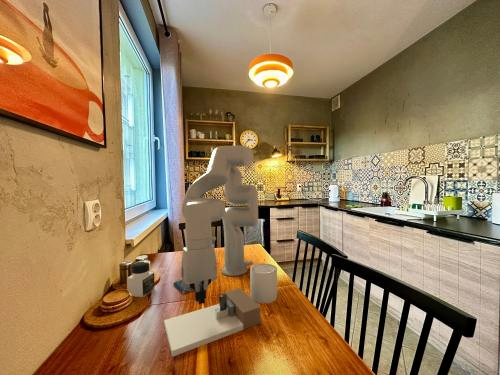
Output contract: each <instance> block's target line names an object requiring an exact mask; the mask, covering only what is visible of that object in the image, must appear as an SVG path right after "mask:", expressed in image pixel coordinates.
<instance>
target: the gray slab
mask: <svg viewBox="0 0 500 375" xmlns="http://www.w3.org/2000/svg"><path fill="white" fill-rule="evenodd" d="M224 294H226V295H227V306H228V307H229V315H227V316H224V317H221V318H218V319H216V317H215V316H214V309H217V308H219V303H217V304H214V305H211V306H208V307H207V306H206V307H204V308H201V309H197V310H193V311H191V312H187V313H184V314H181V315H178V316H174V317H170V318H167V319H164V320H163V326H164V330H165V334H166V337H167V338H166V339H167V343H168V346H169V349H170V355H171V357H172V358H174V357H176V356H178V355H181V354H184V353H186V352H189V351H191V350H194V349H196V348H199V347H202V346H204V345H207V344H209V343H212V342H215V341H217V340H221V339H222V338H225V337H228V336H231V335H233V334H235V333H236V334H237V333H238V332H241V331H243V330H246V329H248V328H252V327H254V326H257V325H259V324H261V306H260V305H259V303H257V302H255V301H253V300H252V299H251V297H250V296H249V295H248V294H247V293H246V292H245V291H244V290H242V288H241V287H239V288H235V289H231V290H228V291H224ZM234 306H235V313H234Z"/></svg>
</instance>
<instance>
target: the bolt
mask: <svg viewBox="0 0 500 375" xmlns="http://www.w3.org/2000/svg"><path fill="white" fill-rule="evenodd" d="M218 304H219V308H217V309H214V316H215V317H216V319H218V318H221V317H224V316H227V315H229V307H228V306H227V295H226V294H225V293H222V294H219V295H218ZM234 314H235V306H234Z"/></svg>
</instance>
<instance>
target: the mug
mask: <svg viewBox="0 0 500 375" xmlns="http://www.w3.org/2000/svg"><path fill="white" fill-rule="evenodd" d="M250 266H251V267H250V268H249V269H250V271H249V272H250V273H249V274H250V275H249V276H250V278H249V281H250V282H249V283H250V284H249V285H250V287H249V288H250V289H249V290H250V292H249V293H250V296H251V297H250V296H249V297H250V298H251V299H252V300H253V301H254V302H256V303H257V302H258V303H257V304H264V303H266V304H271V303H273V301H274V302H275V301H277V299H278V267H277V266H276V265H273V264H270V263H256V264H252V265H250ZM276 298H277V299H276ZM270 302H271V303H270Z"/></svg>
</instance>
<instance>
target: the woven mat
mask: <svg viewBox="0 0 500 375" xmlns="http://www.w3.org/2000/svg"><path fill="white" fill-rule="evenodd" d="M182 281H183V279H182V278H181V279H180V280H175V281H174V282H173V283H172V286H174V287H175V288H176V290H178V291H179V292H180V294H182V295H183V294H185V293H186V294H187V293H190V292H193V289H192V288H191V287H189V288H183V287H182ZM198 283H199V288H200V286H201V281H200V282H198Z"/></svg>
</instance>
